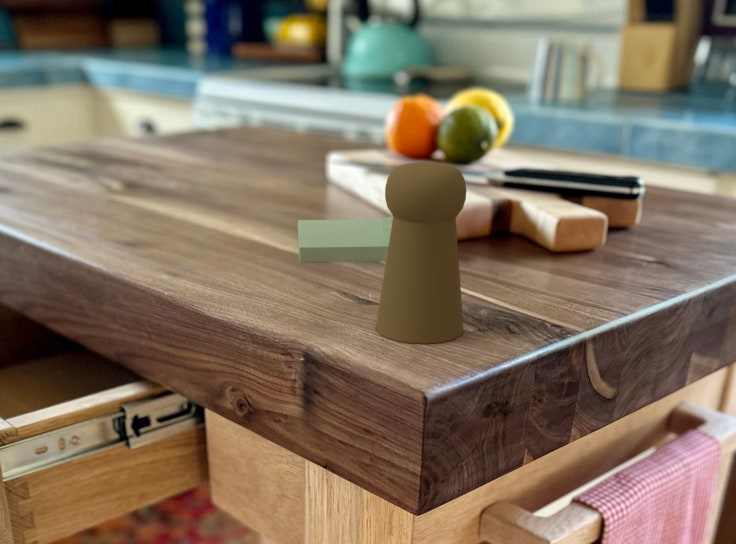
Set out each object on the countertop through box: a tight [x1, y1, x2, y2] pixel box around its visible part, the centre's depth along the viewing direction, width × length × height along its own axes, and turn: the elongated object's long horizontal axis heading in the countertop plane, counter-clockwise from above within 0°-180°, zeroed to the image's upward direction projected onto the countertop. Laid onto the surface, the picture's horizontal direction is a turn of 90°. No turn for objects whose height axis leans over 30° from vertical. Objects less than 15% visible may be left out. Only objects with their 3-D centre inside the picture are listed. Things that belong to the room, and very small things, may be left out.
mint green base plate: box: [297, 215, 393, 263], centre depth 78 cm, size 13×11×3 cm
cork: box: [375, 161, 467, 345], centre depth 57 cm, size 6×6×11 cm
